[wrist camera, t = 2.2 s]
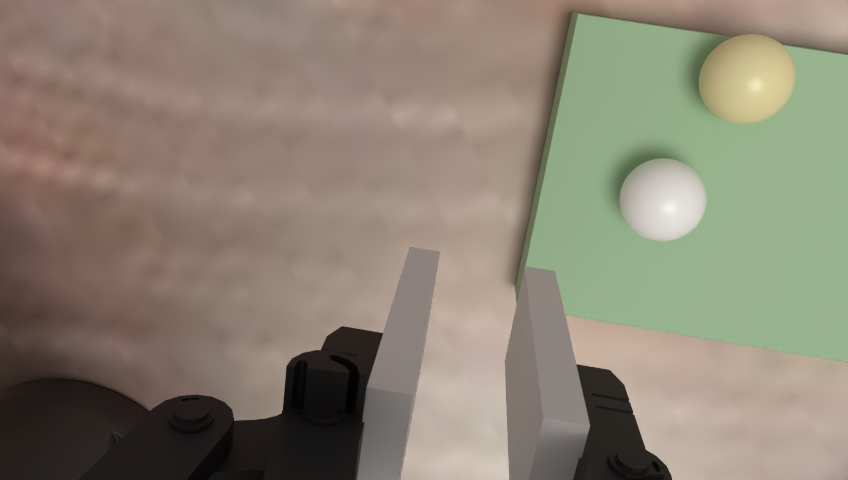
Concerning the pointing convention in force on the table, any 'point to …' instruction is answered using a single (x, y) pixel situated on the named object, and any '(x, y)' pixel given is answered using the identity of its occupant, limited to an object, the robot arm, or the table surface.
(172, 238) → the table surface
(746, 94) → the yellow ball
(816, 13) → the table surface
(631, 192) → the ball
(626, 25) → the green
